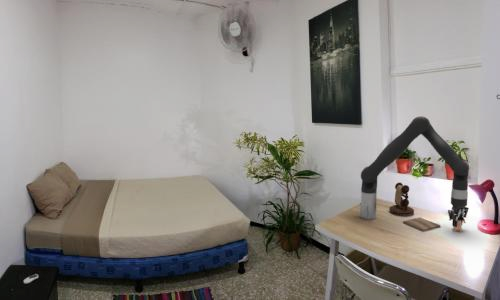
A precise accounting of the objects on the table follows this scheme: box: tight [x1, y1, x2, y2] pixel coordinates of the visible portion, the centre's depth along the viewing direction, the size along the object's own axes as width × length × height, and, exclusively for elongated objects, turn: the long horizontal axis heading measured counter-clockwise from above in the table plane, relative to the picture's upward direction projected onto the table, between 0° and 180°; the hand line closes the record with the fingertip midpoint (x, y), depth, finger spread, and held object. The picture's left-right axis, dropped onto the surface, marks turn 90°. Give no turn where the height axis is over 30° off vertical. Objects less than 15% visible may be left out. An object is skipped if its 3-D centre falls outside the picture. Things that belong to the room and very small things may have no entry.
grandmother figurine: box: [448, 212, 466, 233], centre depth 168 cm, size 8×4×13 cm, turn 69°
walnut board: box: [402, 216, 441, 233], centre depth 178 cm, size 14×14×1 cm
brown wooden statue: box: [388, 182, 415, 217], centre depth 197 cm, size 15×15×20 cm
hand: (457, 225), depth 168 cm, fingers closed on grandmother figurine, 3 cm apart
